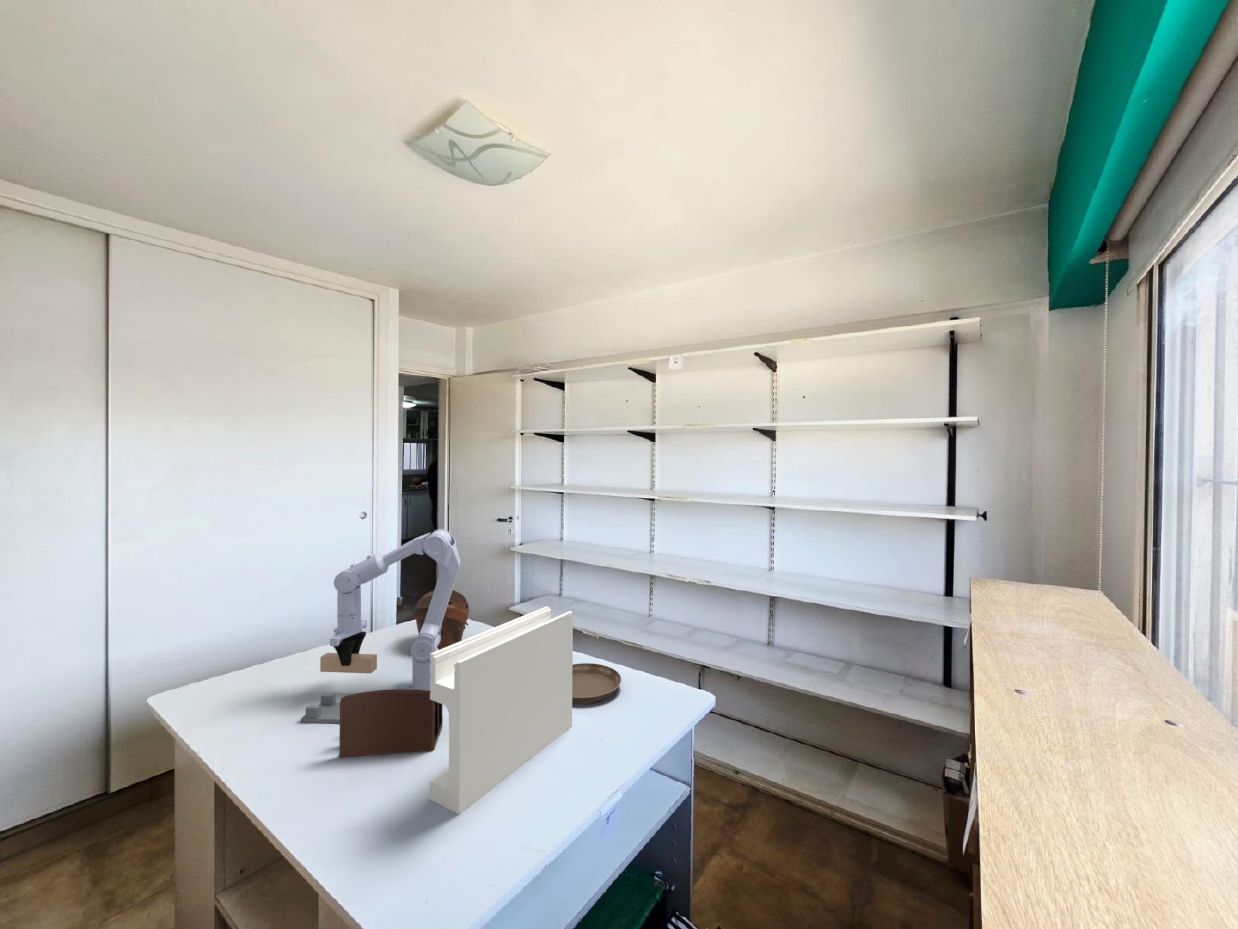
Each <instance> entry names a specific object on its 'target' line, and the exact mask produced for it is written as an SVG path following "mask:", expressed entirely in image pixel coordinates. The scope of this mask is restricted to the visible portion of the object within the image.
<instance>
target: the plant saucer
mask: <svg viewBox="0 0 1238 929" xmlns="http://www.w3.org/2000/svg"><path fill="white" fill-rule="evenodd" d="M621 683H622V677H621V674H620V673H619V671H617V670H616V669H614V668H612V667H609V666H607V665H604V664H600V663H588V662H587V663H586V662H584V663H574V664H573V663H572V704H578V705H579V704H581V705H582V704H585V705H586V704H592V703H593V704H594V703H597V702H601V701H604V700H606V699H608V698H609V697H611V695H613V694H614V693H615V692H616V690H617V689H619V686H620V685H621Z"/></svg>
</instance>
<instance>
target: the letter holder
mask: <svg viewBox="0 0 1238 929" xmlns="http://www.w3.org/2000/svg"><path fill="white" fill-rule="evenodd" d="M430 693H431V691H428V690H416V689H410V688H404V689H403V688H397V689H396V688H395V689H394V688H392V689H389V688H388V689H377V690H371V691H370V690H369V691H363V692H357V693H353V694H346V695H345V696H342V697H341V698H340V701H339V703H340V723H339V747H338V748H339V750H338V751H339V752H338V754H339V755H338V757H339V759H340V758H348V757H349V758H350V757H362V756H364V757H365V756H374V755H391V754H392V755H393V754H404V753H405V754H406V753H420V752H430V751H431V752H434V750H435V749H436V747H437V743H438V741H439V738H440V735H441V733H442V729H443V724H444V723H443V719H444V718H443V706H444V705H443V704H441V703H438V702H436V701H433V700H430Z"/></svg>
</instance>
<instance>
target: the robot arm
mask: <svg viewBox="0 0 1238 929" xmlns="http://www.w3.org/2000/svg"><path fill="white" fill-rule="evenodd" d="M414 554H416V555H419V556H423V555H424V554H426V555H427V556H428V557H430V558H431V559H432V560H434V561H435V562H436V564H437V565H438V566H439V568H440V572H439V575H438V578H437V581H436V584H435V588H434V593H433V596H432V599H431V602H430V605H429V609H428V612H427V615H426V618H425V621H424V624H423V626H422V629H421V631H420V633H418V636H417V638H416V639H415V641H414V642H412V645H411V647H410V655H411V657H412V661H411V662H412V667H411V668H412V678H411V679H412V681H411V682H412V686H411V687H410V688H409V689H416V690H428V691H430V678H431V676H430V663H431V660H430V654H431V653H433V652H435V651H438V648H437V646H438V645H439V644H440V641H441V634H440V630H441V627H442V621H443V618H444V615H445V612H446V609H447V606H448V602H449V599H450V596H451V593H452V590H454V587H455V584H456V581H457V577H458V574H459V572H460V568H461V562H462V561H461V558H460V555H459V554H460V553H459V551H458V547H457V540H456V539H455V538H454V536H453V535H452V534H451V532H450V531H449V530H447V529H445V528H437V529H435V530H434V531H433V532H432V533H431V532H428V533H425V534H424V535H420V536H418V537H415V538H413V539H412V540H409V541H408V542H406V543H404V544H402V545H401V546H399V547H397V548H395V549H394V550H391V551H390V552H387V553H385V554H380V553H379V554H378V553H376V554H372V553H371V554H368V555H367V556H366V557H365V558H366V559H364V560H362V561H360V562H358V563H353V564H350V565H349V567H348V568H346V569H344V570H342V571H341V572H340V573H338V574H336V576H335V577H334V579H333V586H334V589H335V590H336V591H337V593H336V594H337V598H336V603H337V607H336V609H337V611H336V613H337V614H336V617H337V625H336V626H337V627H336V628H334V629H333V631H332V632H333V636H332V637H330V638H329V646H330V647H333V648H334V650H335V651H336V653H337V654H338V656H339V659H340V663H341V666H349V665H350V663H351V657H352V654H360V650H361V647H362V644H363V642H364V640H365V637H366V636H367V632H366V631H363V629H367V627H368V620H365V619H363V620H362V594H361V591H362V590H361V588H362V587H361V585H364V584H367V583H368V582H370V581H373V580H374V579H376V578H379V577H381V576H382V575H384V574H386V573H387V572H388V569H389V566H390V565H392V564H395V563H398V562H399V561H401V560H404V559H405V558H406V559H407V557H409V556H411V555H414Z"/></svg>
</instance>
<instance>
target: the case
mask: <svg viewBox="0 0 1238 929" xmlns="http://www.w3.org/2000/svg"><path fill="white" fill-rule="evenodd" d="M434 590H435V589H434ZM434 590H431V591H429V592H427V593H425V594H424V595H423V596H422V597H421V598H420V599H419V600H418V601H417V603H416V604H415V606H414V607H413V611H412V615H411V616H412V619H413V620H415V621H416V622H415V623H416V628H417V633H418V634H419V633H420V631H421V629H422V626H423V624H424V621H425V618H426V615H427V612H428V609H429V605H430V602H431V599H432V596H433V593H434ZM469 613H470V606H469V603H468V601H467V599H466V597H465V596H464V595H463V594H462V593H461V592H458V591H456V590H454V589H453V590H452V593H451V596H450V599H449V602H448V606H447V609H446V612H445V615H444V618H443V621H442V627H441V630H440V634H441V641H440V644H439V645H438V646H437V648H438V650H440V649H443V648H445V647H448V646H450V645H453V644H455V643H458V642H460V641H463V635H464V631H465V630H466V626H468V627H469V624H468V622H467V621H468V620H469Z"/></svg>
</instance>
